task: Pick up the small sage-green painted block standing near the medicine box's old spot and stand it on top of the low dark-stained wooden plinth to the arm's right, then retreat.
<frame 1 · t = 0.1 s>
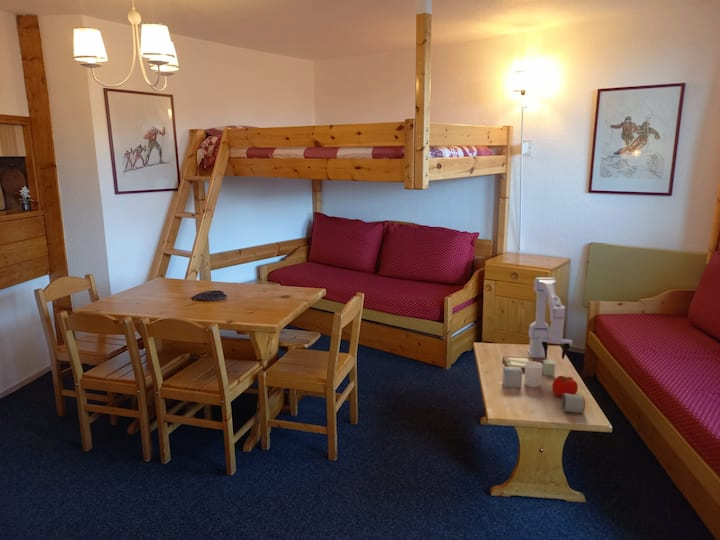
hand: (554, 357, 248), 10 cm above the table, fingers open, 7 cm apart
tomato: (563, 396, 232), on the table
sage block: (548, 373, 255), on the table
grey cylinder: (571, 410, 219), on the table
plinth: (519, 366, 263), on the table
white cup: (532, 384, 243), on the table
medicine box: (511, 386, 242), on the table
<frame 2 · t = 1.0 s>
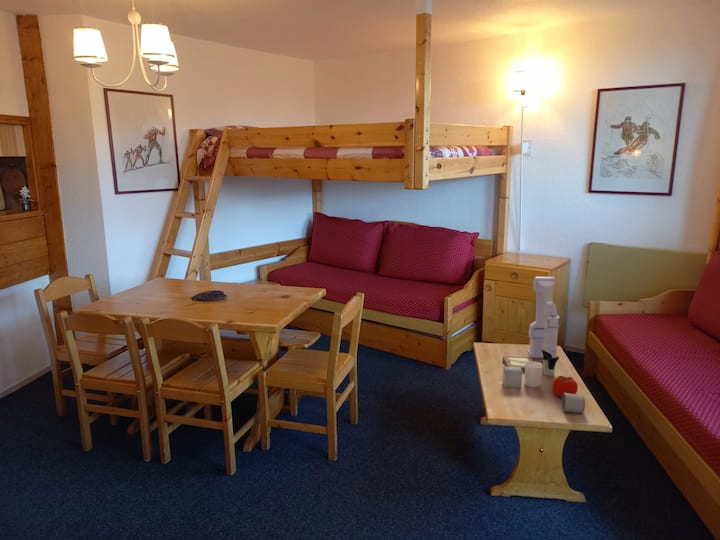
hand: (548, 366, 254), 4 cm above the table, fingers open, 7 cm apart
nothing on the table moved.
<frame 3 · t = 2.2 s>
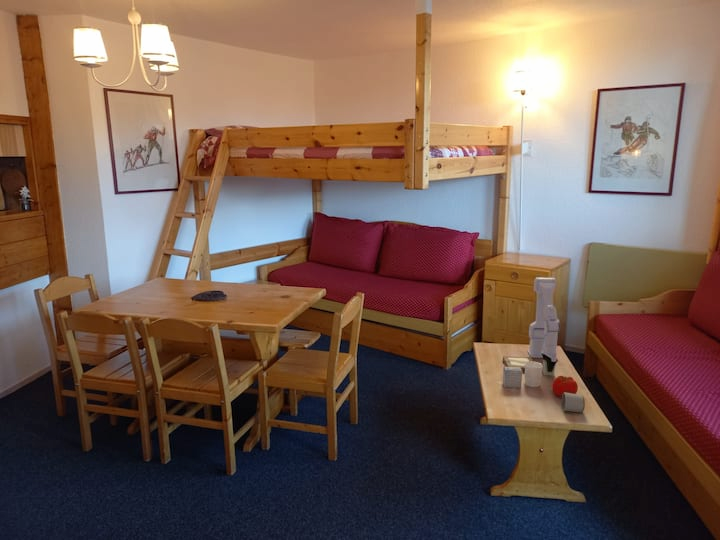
hand: (548, 369, 254), 2 cm above the table, fingers closed on sage block, 4 cm apart
sage block: (548, 373, 255), on the table, touching gripper
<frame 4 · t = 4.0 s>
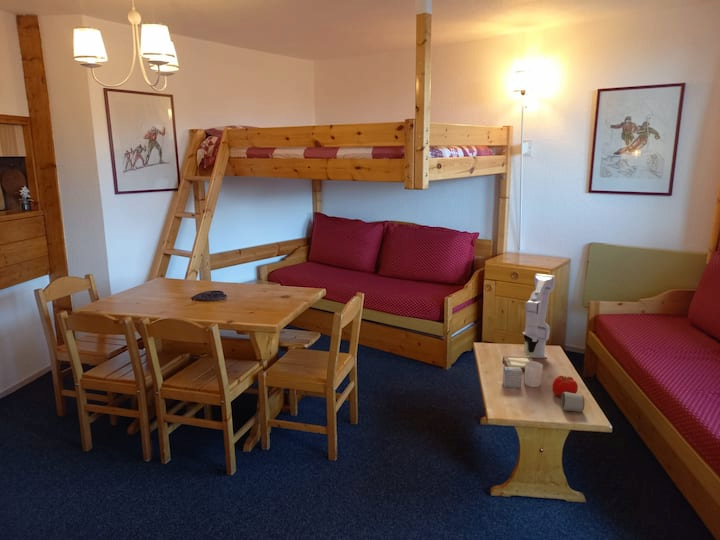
hand: (529, 350, 259), 10 cm above the table, fingers closed on sage block, 4 cm apart
sage block: (529, 354, 259), point 8 cm above the table, touching gripper
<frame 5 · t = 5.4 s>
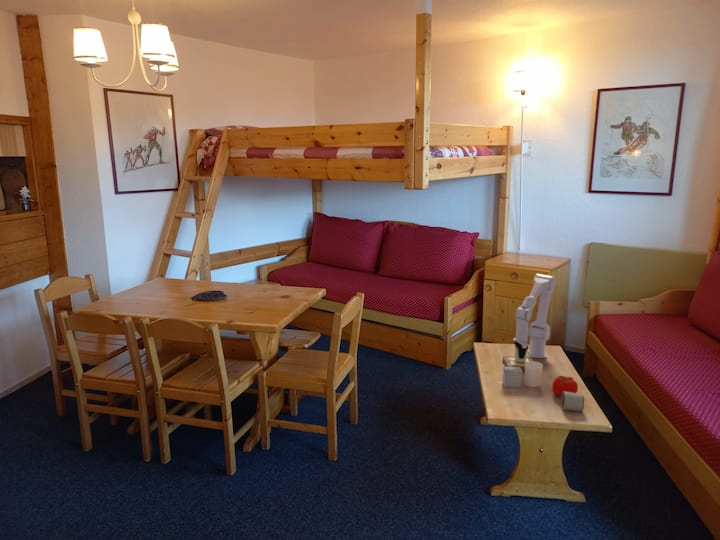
hand: (520, 356, 262), 5 cm above the table, fingers closed on sage block, 4 cm apart
sage block: (520, 360, 263), point 3 cm above the table, touching gripper
when the fingers open (5 cm above the table, at t = 6.1 s): sage block stays where it is, resting on plinth.
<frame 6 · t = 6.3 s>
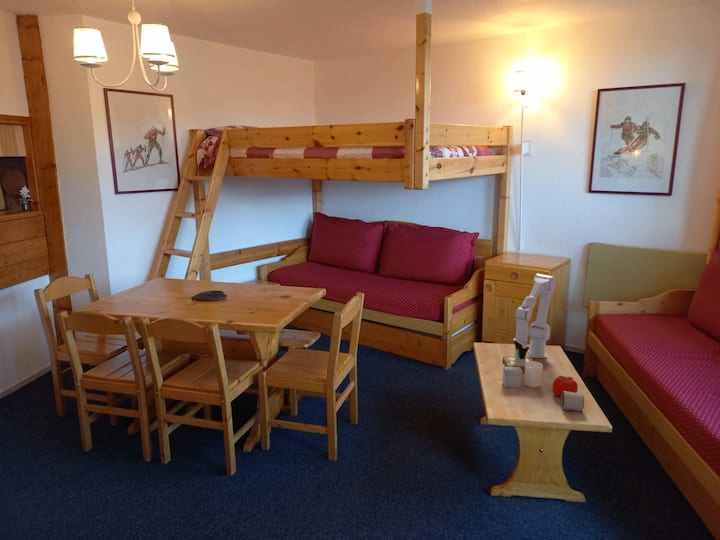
hand: (520, 356, 262), 5 cm above the table, fingers open, 6 cm apart
sage block: (520, 361, 263), point 2 cm above the table, touching plinth
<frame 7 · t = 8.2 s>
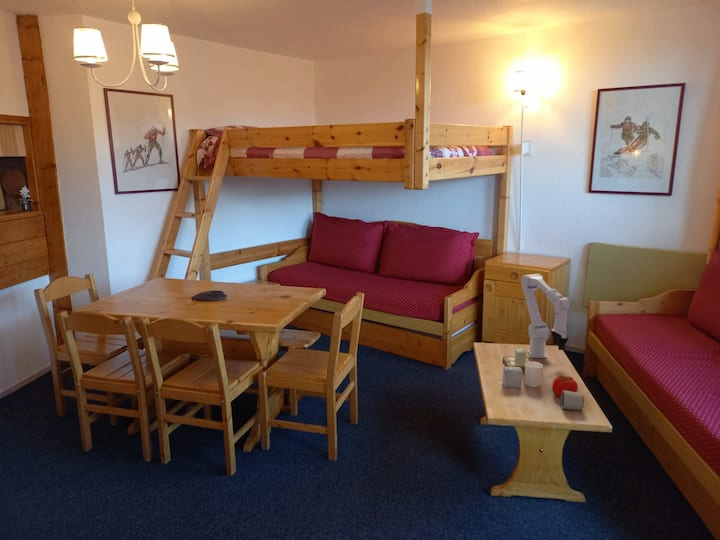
hand: (558, 347, 261), 10 cm above the table, fingers open, 7 cm apart
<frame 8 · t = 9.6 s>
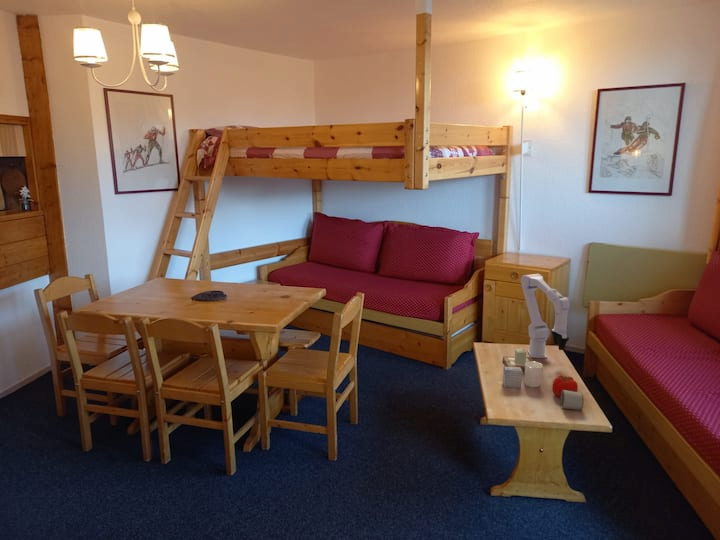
hand: (558, 347, 261), 10 cm above the table, fingers open, 7 cm apart
at the end: sage block inside the target area on the plinth (0.1 cm from its centre), point 2.4 cm above the plinth's base; sage block tilted 0°; the gripper is holding nothing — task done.
